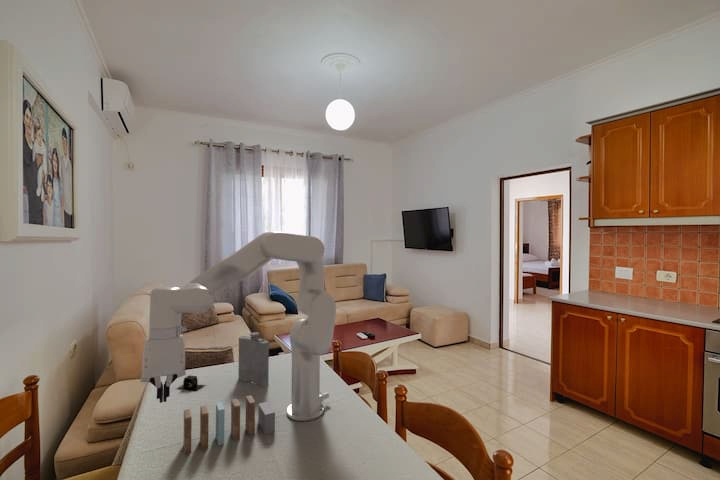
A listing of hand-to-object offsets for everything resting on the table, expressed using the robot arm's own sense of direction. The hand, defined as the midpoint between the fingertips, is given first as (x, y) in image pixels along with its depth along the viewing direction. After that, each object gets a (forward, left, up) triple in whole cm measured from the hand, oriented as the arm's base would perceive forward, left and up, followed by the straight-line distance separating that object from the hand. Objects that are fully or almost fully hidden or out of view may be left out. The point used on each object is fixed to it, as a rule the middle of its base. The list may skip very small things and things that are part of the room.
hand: (162, 400), depth 92 cm
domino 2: (-10, +4, -15) cm, 18 cm away
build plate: (-24, -37, -16) cm, 47 cm away
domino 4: (-18, +6, -15) cm, 24 cm away
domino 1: (-6, +2, -15) cm, 16 cm away
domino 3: (-14, +5, -15) cm, 21 cm away
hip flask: (-44, -23, -15) cm, 52 cm away
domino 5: (-22, +8, -15) cm, 28 cm away
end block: (-27, +10, -15) cm, 32 cm away
